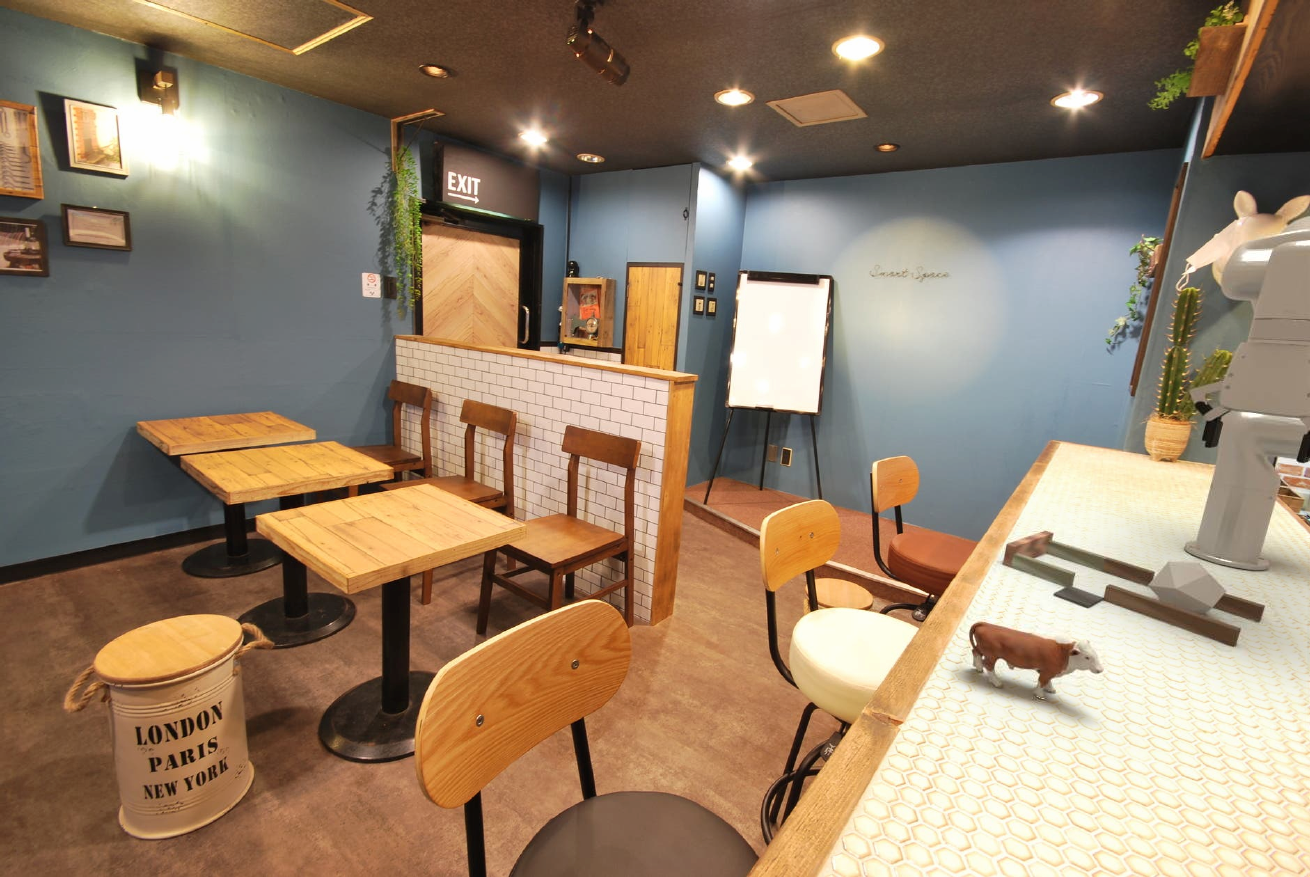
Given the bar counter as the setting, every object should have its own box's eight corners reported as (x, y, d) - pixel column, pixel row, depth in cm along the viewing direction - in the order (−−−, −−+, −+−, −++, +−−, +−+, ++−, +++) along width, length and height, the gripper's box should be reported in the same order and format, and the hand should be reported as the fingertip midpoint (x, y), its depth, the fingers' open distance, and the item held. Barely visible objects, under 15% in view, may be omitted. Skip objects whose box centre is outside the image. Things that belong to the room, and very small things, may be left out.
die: (1222, 633, 89) (1248, 580, 91) (1172, 600, 90) (1199, 548, 91) (1173, 625, 97) (1198, 576, 99) (1128, 595, 98) (1153, 547, 99)
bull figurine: (1093, 720, 66) (1109, 655, 64) (960, 677, 73) (972, 617, 71) (1090, 700, 70) (1105, 638, 68) (964, 661, 76) (974, 603, 75)
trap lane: (1054, 544, 122) (1058, 526, 122) (1270, 611, 97) (1276, 588, 96) (986, 570, 107) (990, 549, 106) (1222, 658, 81) (1229, 631, 80)
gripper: (1388, 339, 76) (1349, 466, 80) (1214, 332, 91) (1187, 440, 94) (1378, 336, 72) (1337, 471, 76) (1197, 330, 87) (1169, 443, 90)
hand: (1254, 454), depth 85 cm, fingers open, 9 cm apart
